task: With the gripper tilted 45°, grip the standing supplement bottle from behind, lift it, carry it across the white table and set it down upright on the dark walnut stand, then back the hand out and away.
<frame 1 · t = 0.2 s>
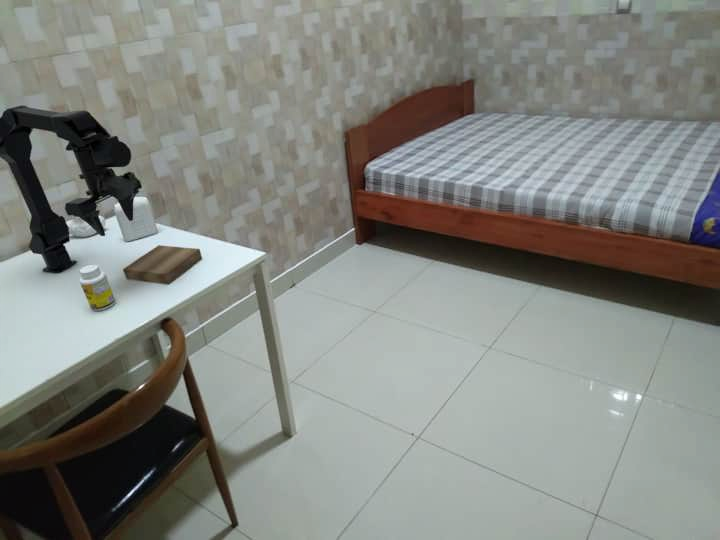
hand: (117, 228, 128), 14 cm above the table, tool pointing down, fingers open, 9 cm apart
bust: (88, 235, 165), on the table
photo printer: (141, 236, 159), on the table
supplement bottle: (104, 306, 123), on the table
walnut stand: (165, 268, 137), on the table
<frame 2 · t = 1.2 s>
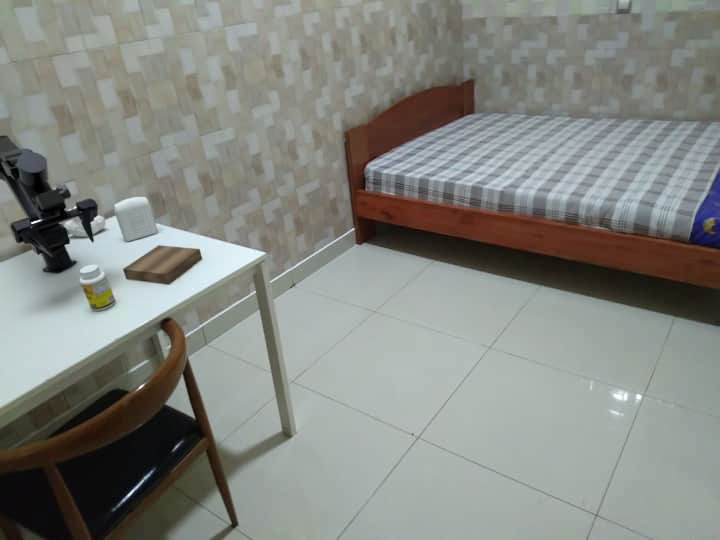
hand: (73, 248, 122), 13 cm above the table, tool tilted 45°, fingers open, 9 cm apart
nothing on the table moved.
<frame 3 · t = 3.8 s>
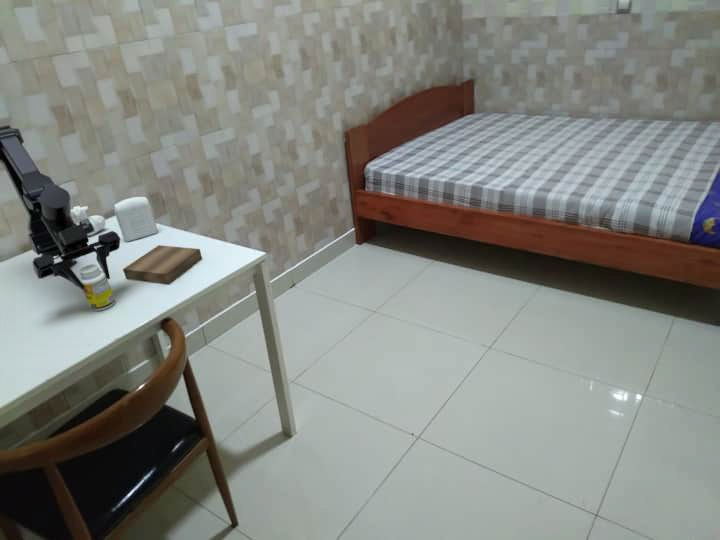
hand: (96, 283, 119), 7 cm above the table, tool tilted 45°, fingers closed on supplement bottle, 6 cm apart
supplement bottle: (104, 306, 123), on the table, touching gripper
everything else where it was.
when the fingers open (11 cm above the table, at t = 7.6 s): supplement bottle drops 1 cm, resting on walnut stand.
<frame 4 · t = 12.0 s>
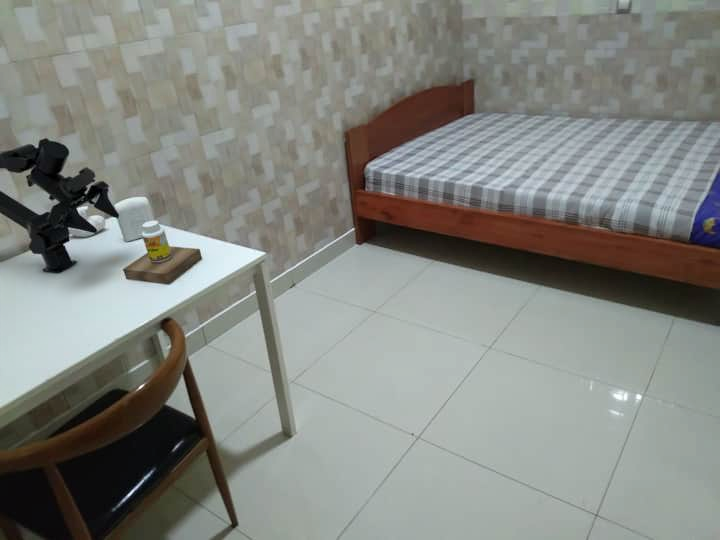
hand: (107, 224, 133), 14 cm above the table, tool tilted 45°, fingers open, 9 cm apart
supplement bottle: (161, 259, 136), point 3 cm above the table, touching walnut stand
everything else where it was.
at the end: supplement bottle inside the target area on the walnut stand (0.2 cm from its centre), point 2.8 cm above the walnut stand's base; supplement bottle tilted 0°; the gripper is holding nothing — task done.
